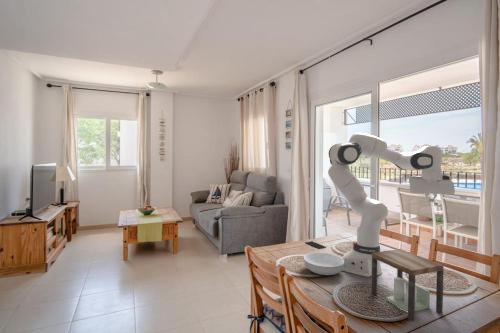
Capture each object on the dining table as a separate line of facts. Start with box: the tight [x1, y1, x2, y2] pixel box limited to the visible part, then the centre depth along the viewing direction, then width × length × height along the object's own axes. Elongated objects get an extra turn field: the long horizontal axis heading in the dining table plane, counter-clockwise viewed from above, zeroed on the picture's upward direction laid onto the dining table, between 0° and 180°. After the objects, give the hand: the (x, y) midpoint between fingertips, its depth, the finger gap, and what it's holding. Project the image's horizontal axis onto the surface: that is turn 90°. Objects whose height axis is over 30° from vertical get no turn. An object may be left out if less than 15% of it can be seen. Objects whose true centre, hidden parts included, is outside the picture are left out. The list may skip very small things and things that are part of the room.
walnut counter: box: [370, 248, 445, 322], centre depth 113 cm, size 16×20×19 cm
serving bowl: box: [303, 252, 344, 276], centre depth 145 cm, size 21×21×7 cm
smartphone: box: [304, 240, 327, 250], centre depth 189 cm, size 7×1×15 cm
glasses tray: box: [386, 276, 431, 312], centre depth 113 cm, size 12×10×10 cm
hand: (430, 202), depth 146 cm, fingers closed
